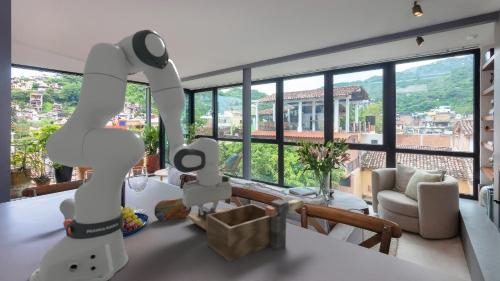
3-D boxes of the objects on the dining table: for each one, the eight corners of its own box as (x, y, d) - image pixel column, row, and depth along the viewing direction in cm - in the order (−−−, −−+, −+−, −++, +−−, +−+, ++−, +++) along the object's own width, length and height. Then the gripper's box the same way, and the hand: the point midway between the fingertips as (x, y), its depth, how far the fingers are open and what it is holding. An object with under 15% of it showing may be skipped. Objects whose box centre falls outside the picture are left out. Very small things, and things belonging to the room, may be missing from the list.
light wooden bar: (271, 216, 79) (271, 209, 78) (265, 214, 81) (265, 206, 81) (303, 207, 88) (303, 200, 88) (296, 205, 91) (297, 198, 90)
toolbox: (238, 268, 70) (239, 215, 69) (206, 243, 85) (206, 199, 84) (287, 247, 83) (288, 202, 82) (252, 228, 97) (252, 190, 96)
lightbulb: (81, 226, 98) (80, 198, 97) (62, 231, 94) (61, 202, 93) (77, 222, 102) (76, 195, 101) (58, 226, 98) (57, 198, 97)
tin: (154, 222, 103) (154, 202, 102) (154, 219, 106) (153, 200, 105) (191, 217, 109) (191, 198, 108) (190, 214, 112) (190, 196, 111)
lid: (210, 236, 88) (211, 221, 88) (187, 220, 102) (188, 207, 102) (253, 225, 101) (254, 212, 101) (228, 212, 115) (228, 201, 114)
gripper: (186, 183, 90) (186, 221, 90) (233, 176, 102) (233, 210, 103) (179, 180, 95) (179, 216, 95) (225, 174, 107) (225, 206, 108)
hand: (208, 213), depth 99 cm, fingers closed on lid, 3 cm apart
